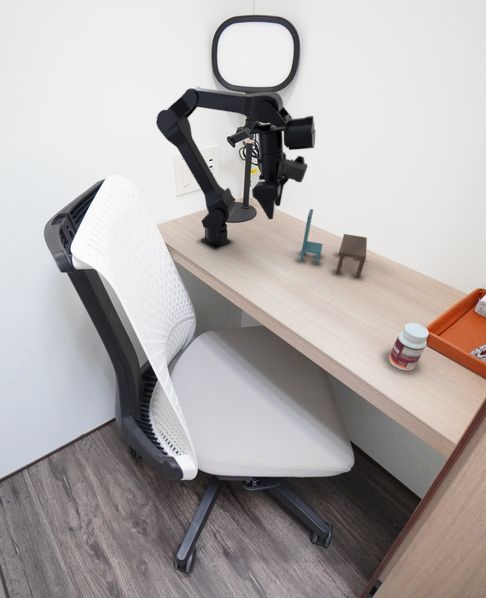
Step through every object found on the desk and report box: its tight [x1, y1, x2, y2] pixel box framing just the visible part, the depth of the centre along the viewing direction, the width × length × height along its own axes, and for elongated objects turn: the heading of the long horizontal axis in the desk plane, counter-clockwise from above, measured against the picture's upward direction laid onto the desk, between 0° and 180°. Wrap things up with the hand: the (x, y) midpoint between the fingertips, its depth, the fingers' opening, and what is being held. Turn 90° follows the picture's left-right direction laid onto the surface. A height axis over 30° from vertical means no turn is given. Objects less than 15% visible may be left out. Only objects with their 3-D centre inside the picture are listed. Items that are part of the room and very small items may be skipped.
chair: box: [299, 208, 324, 266], centre depth 97 cm, size 5×5×14 cm
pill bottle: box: [388, 322, 430, 371], centre depth 67 cm, size 5×5×8 cm
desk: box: [335, 233, 368, 279], centre depth 96 cm, size 6×11×6 cm, turn 160°
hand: (274, 212), depth 97 cm, fingers open, 9 cm apart
